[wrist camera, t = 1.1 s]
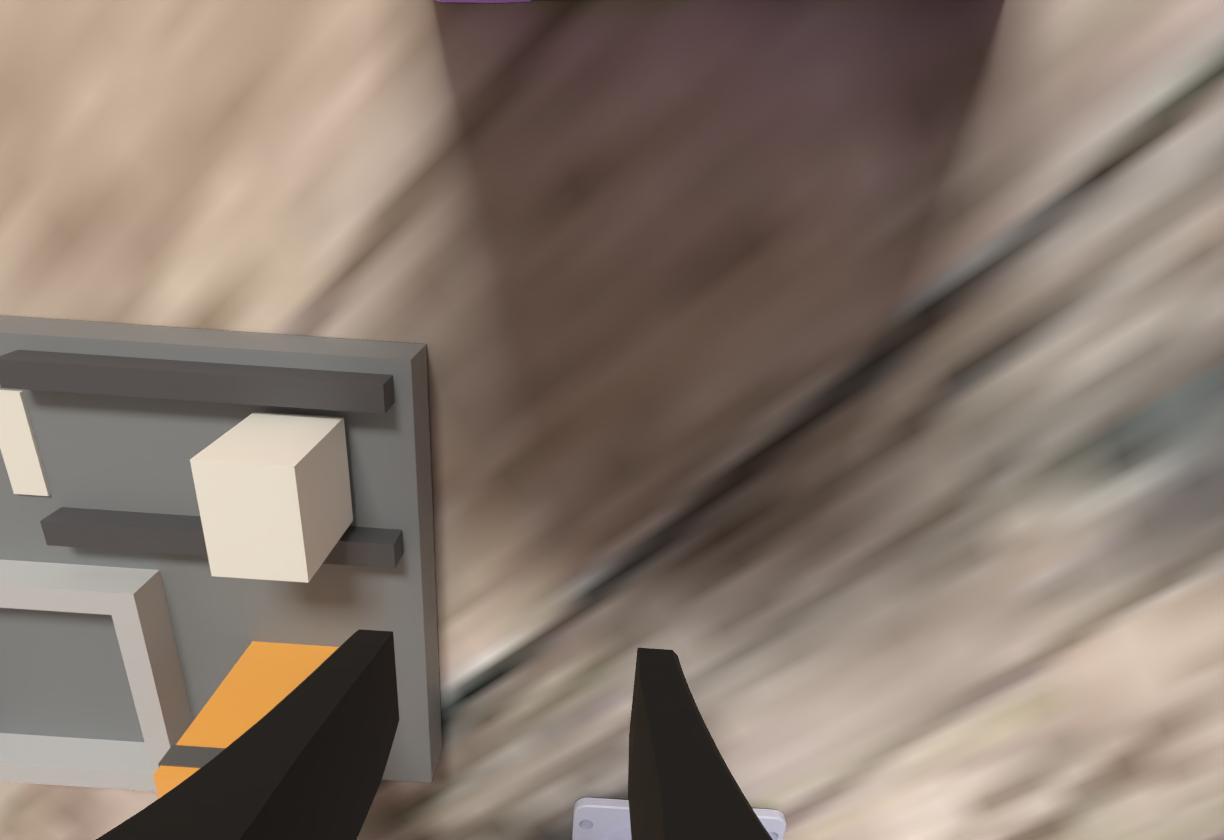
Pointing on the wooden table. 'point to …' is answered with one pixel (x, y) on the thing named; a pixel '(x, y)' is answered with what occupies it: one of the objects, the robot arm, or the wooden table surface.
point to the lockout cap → (239, 705)
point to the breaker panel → (190, 537)
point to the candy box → (486, 1)
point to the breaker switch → (274, 496)
